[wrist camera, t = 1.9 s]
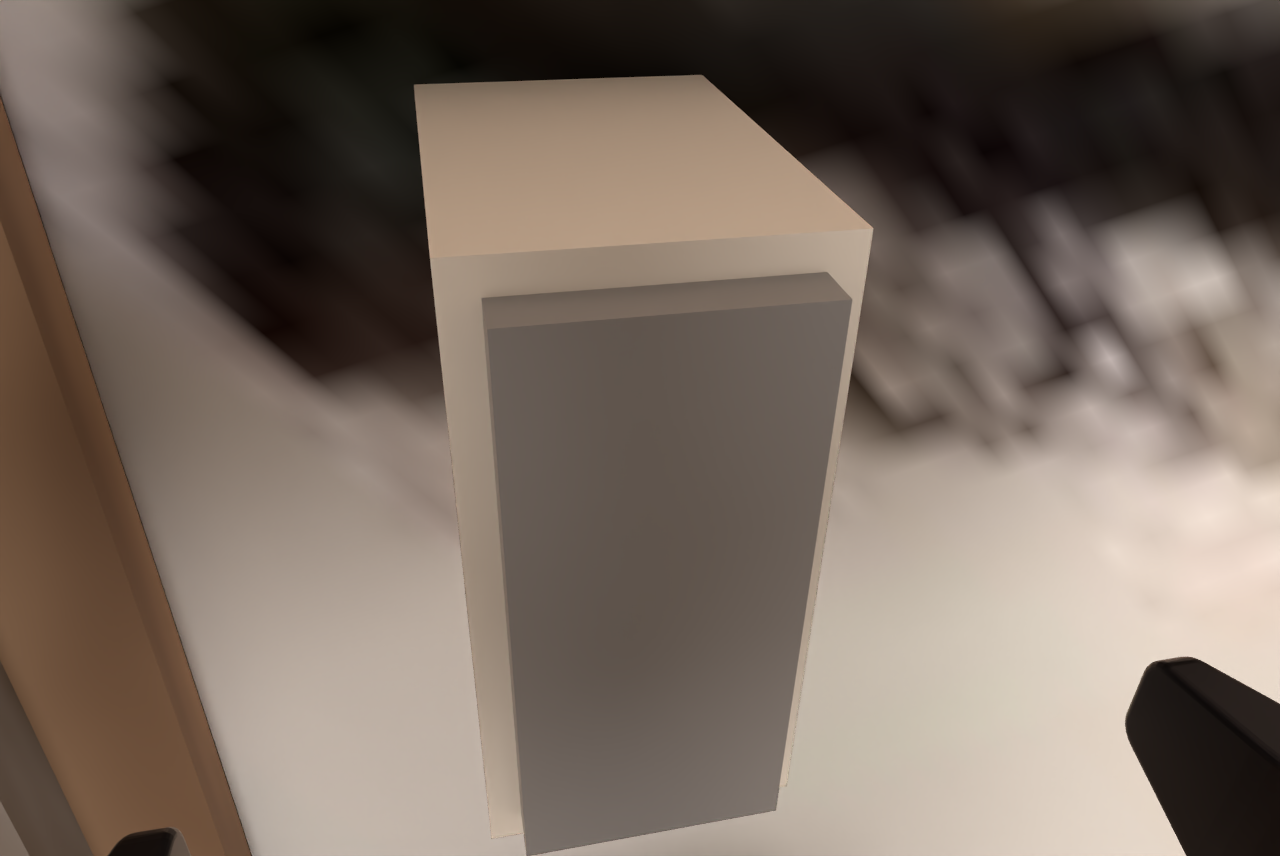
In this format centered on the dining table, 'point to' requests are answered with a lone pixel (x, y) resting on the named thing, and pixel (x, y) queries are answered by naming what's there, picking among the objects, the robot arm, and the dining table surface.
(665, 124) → the block
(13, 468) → the rail mount
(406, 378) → the dining table surface
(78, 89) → the dining table surface
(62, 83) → the dining table surface
